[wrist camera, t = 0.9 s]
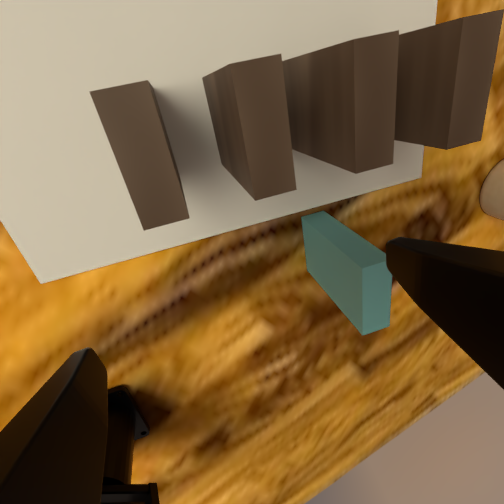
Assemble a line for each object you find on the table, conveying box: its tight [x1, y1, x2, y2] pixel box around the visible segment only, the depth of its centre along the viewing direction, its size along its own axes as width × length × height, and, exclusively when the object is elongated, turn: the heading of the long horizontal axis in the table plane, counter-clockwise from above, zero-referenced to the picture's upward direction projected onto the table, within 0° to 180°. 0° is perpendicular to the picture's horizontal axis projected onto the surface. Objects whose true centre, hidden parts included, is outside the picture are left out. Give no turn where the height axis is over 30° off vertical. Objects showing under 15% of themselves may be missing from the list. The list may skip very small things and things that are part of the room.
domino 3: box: [282, 30, 399, 174], centre depth 15 cm, size 2×5×8 cm, turn 11°
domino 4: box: [301, 211, 392, 335], centre depth 21 cm, size 2×5×8 cm, turn 11°
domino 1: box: [90, 80, 190, 231], centre depth 14 cm, size 2×5×8 cm, turn 11°
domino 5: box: [394, 9, 504, 150], centre depth 16 cm, size 2×5×8 cm, turn 11°
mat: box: [0, 0, 437, 284], centre depth 18 cm, size 14×28×1 cm, turn 101°
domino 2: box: [202, 54, 297, 201], centre depth 15 cm, size 2×5×8 cm, turn 11°
